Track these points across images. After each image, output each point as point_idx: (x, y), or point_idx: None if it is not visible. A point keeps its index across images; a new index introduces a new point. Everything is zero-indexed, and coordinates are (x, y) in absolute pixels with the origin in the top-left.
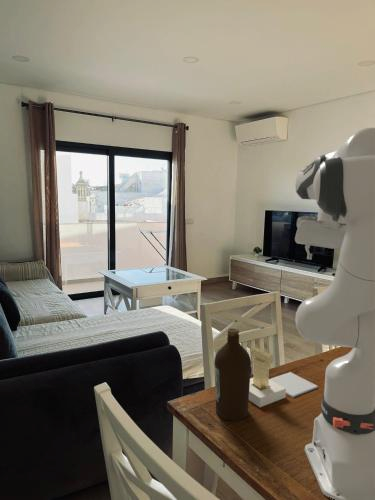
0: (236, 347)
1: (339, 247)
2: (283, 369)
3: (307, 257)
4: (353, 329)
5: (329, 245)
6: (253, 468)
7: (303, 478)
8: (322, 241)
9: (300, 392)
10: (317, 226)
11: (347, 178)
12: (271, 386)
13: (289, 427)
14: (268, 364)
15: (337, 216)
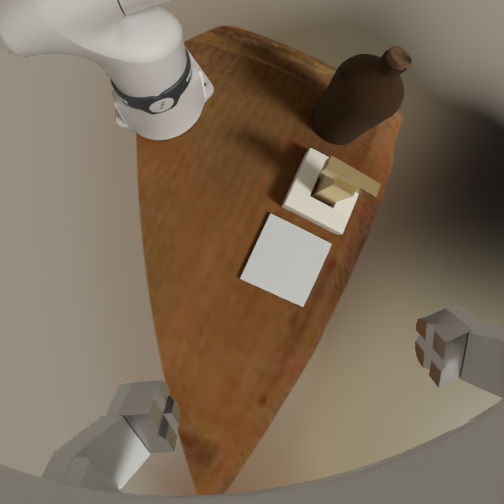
0: (372, 59)
1: (123, 496)
2: (318, 316)
3: (453, 306)
4: None
5: (293, 496)
6: (258, 40)
7: (204, 51)
8: (454, 490)
9: (261, 233)
10: None
11: None
12: (309, 197)
13: (246, 124)
14: (330, 184)
15: None
